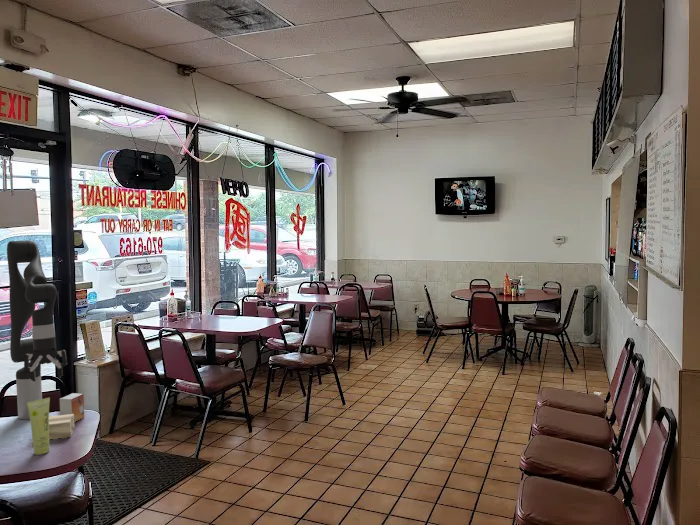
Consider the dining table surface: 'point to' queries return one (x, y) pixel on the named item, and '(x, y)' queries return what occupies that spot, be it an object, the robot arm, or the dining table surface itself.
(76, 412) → the small box
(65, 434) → the birch block
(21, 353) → the robot arm
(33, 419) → the tube
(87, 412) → the dining table surface
